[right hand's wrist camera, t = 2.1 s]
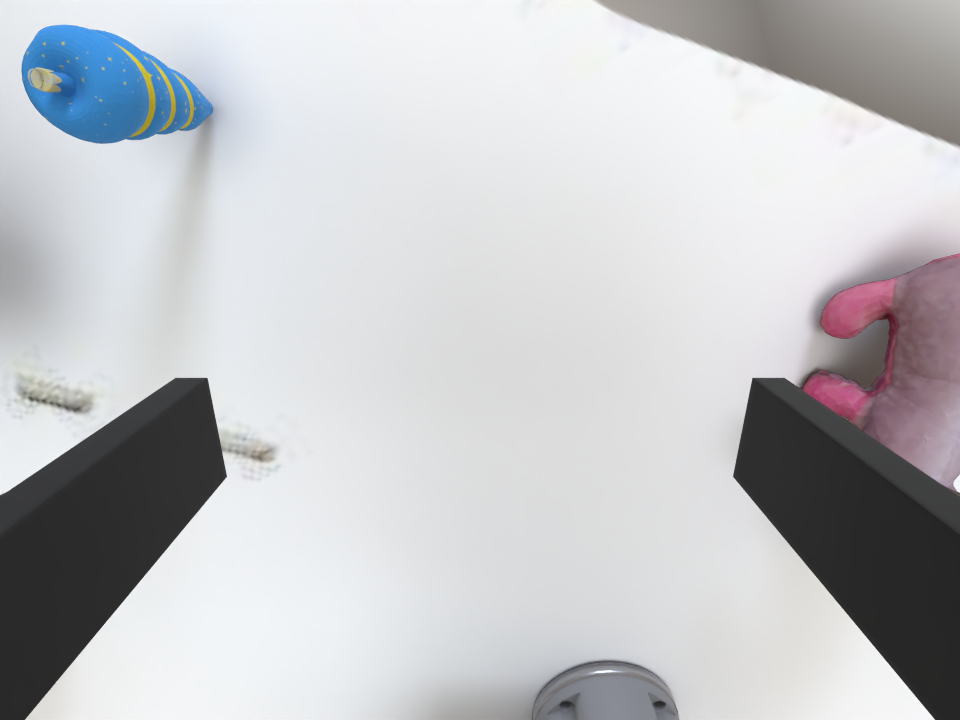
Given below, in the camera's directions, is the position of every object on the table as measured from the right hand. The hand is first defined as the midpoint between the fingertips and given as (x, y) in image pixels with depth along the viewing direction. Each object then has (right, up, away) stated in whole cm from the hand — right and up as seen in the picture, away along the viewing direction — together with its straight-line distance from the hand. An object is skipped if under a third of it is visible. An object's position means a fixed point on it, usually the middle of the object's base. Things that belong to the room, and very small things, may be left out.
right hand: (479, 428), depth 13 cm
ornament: (-19, +19, +23) cm, 35 cm away
